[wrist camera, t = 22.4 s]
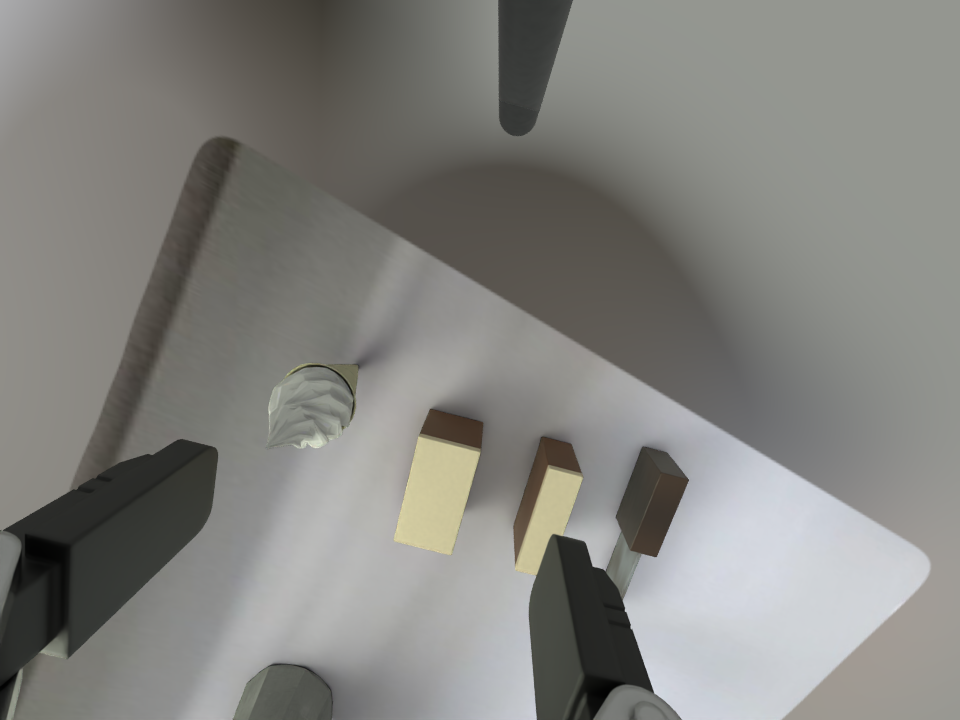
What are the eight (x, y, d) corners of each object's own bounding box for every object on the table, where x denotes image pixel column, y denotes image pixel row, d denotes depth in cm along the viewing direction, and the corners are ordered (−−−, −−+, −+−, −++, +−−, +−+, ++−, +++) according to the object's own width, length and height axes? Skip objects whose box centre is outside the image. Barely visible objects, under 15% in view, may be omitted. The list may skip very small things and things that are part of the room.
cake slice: (541, 436, 38) (549, 468, 33) (571, 443, 38) (583, 477, 33) (513, 526, 40) (515, 570, 35) (541, 533, 40) (547, 578, 35)
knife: (642, 446, 38) (661, 472, 33) (667, 452, 38) (689, 479, 33) (583, 599, 42) (593, 641, 37) (606, 605, 42) (619, 647, 38)
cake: (430, 408, 38) (418, 436, 32) (483, 422, 38) (480, 452, 32) (407, 500, 40) (393, 541, 35) (457, 513, 40) (451, 555, 35)
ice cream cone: (376, 404, 38) (299, 506, 23) (318, 384, 38) (204, 473, 23) (394, 350, 37) (325, 421, 22) (334, 328, 36) (225, 385, 22)
